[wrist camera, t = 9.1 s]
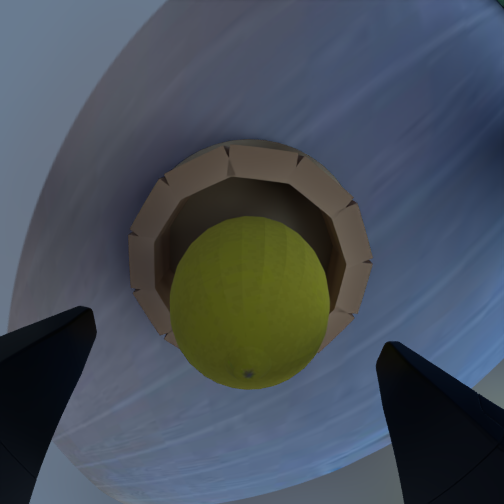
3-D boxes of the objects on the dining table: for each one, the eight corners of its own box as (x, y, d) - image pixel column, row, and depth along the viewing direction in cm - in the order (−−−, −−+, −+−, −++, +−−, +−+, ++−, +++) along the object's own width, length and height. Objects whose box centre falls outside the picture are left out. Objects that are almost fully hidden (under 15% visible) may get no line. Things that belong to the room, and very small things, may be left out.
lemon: (276, 318, 15) (290, 446, 8) (180, 279, 14) (123, 395, 7) (327, 229, 13) (402, 323, 6) (220, 180, 13) (171, 225, 5)
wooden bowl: (371, 160, 13) (402, 165, 10) (327, 342, 17) (339, 379, 14) (152, 133, 13) (123, 130, 10) (151, 322, 17) (132, 357, 13)
